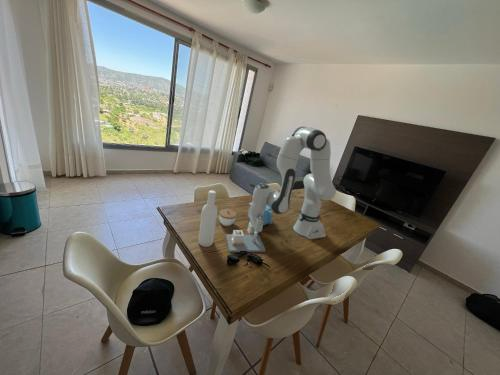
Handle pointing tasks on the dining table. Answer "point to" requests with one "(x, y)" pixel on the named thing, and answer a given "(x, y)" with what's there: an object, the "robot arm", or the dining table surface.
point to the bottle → (208, 221)
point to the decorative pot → (266, 215)
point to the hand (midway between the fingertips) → (252, 229)
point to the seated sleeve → (237, 238)
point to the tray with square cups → (246, 243)
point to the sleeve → (250, 229)
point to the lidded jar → (227, 217)
